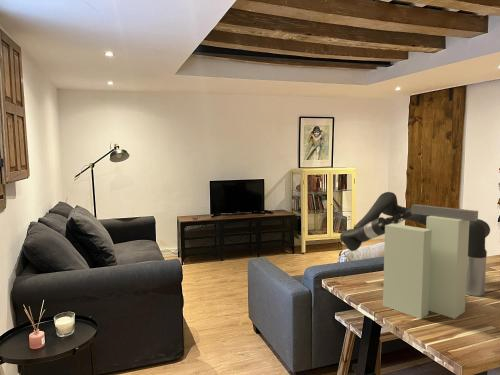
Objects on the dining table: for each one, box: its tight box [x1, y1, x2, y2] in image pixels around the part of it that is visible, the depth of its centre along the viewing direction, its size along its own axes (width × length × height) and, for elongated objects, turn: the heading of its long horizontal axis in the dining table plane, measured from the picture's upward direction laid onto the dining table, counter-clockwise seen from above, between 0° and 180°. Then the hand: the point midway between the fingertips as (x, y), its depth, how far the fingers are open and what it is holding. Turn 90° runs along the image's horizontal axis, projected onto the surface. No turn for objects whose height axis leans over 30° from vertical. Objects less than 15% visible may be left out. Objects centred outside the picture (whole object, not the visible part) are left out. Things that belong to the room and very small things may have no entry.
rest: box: [382, 223, 432, 320], centre depth 147 cm, size 6×16×34 cm, turn 39°
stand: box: [425, 216, 469, 319], centre depth 147 cm, size 10×12×38 cm
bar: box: [410, 204, 479, 221], centre depth 146 cm, size 4×24×4 cm, turn 39°
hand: (406, 214), depth 158 cm, fingers open, 8 cm apart
